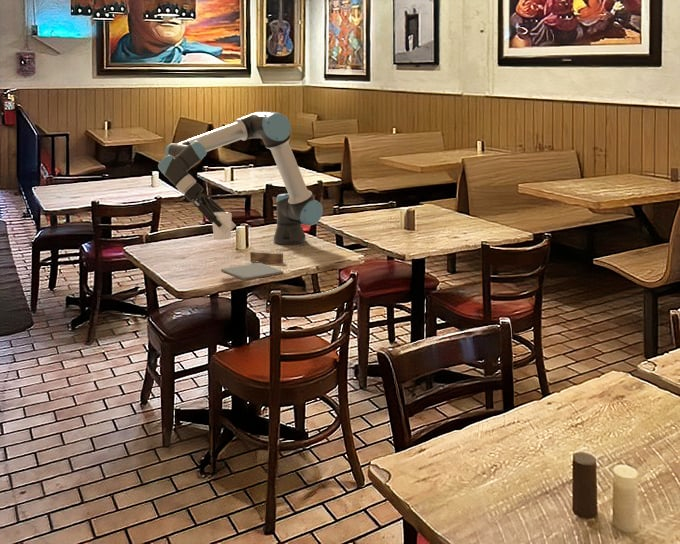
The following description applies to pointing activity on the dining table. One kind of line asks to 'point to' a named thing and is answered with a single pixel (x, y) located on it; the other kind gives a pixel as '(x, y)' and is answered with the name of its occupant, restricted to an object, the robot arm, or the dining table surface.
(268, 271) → the grey mat
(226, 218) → the white cup
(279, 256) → the walnut rail
